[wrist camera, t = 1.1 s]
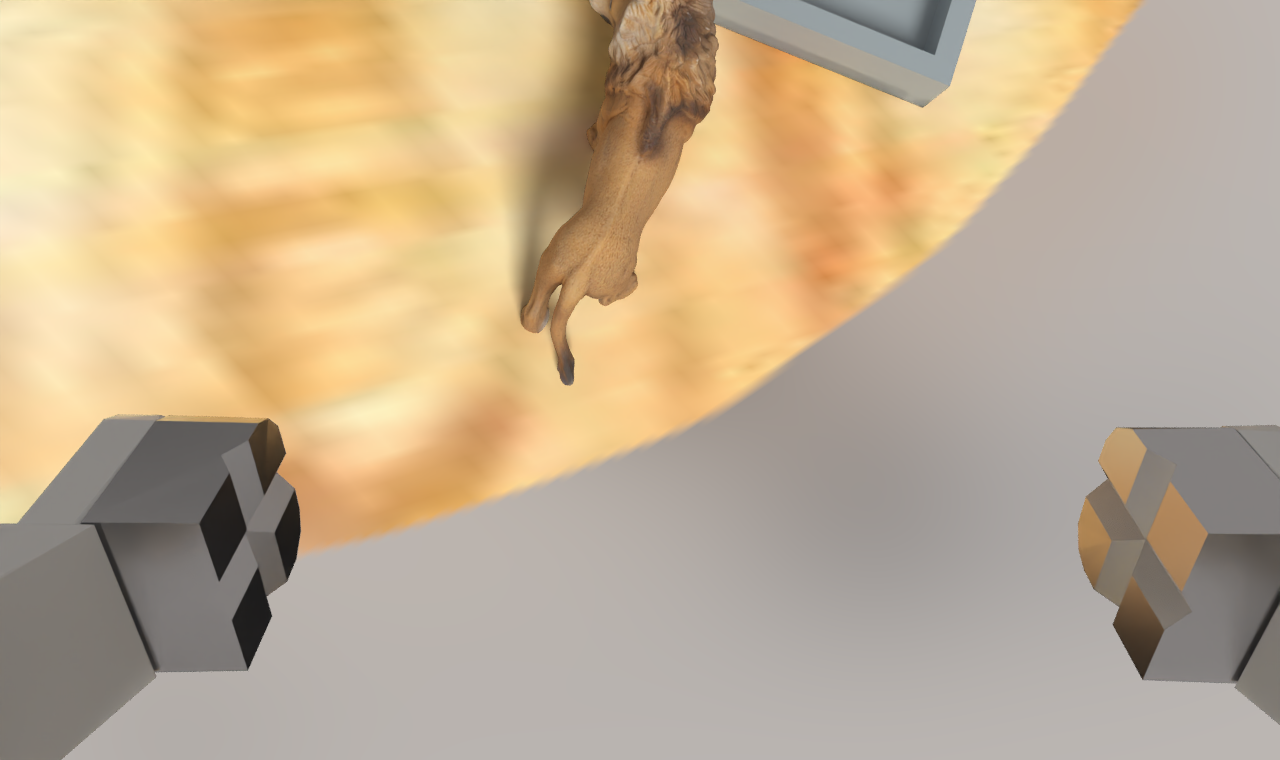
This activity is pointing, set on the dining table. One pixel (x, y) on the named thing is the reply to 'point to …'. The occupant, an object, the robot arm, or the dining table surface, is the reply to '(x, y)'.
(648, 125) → the lion figurine
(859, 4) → the grey tray
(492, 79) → the dining table surface
